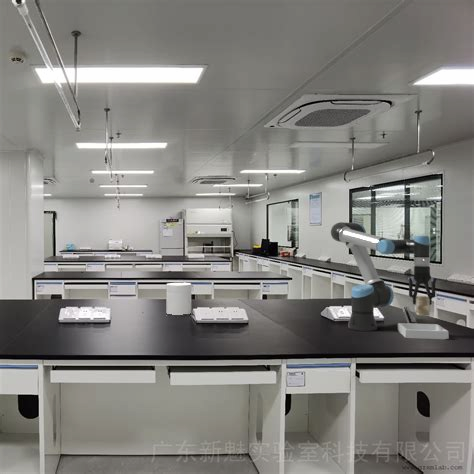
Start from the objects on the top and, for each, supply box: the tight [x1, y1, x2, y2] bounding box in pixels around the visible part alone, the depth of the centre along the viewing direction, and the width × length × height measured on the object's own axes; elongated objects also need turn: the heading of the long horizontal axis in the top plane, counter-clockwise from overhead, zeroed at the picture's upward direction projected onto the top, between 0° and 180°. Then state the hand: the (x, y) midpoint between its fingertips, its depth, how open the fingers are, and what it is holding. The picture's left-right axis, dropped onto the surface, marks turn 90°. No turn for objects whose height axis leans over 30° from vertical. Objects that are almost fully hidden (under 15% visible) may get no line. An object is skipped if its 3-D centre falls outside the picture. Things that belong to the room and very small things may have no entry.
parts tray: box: [397, 322, 450, 340], centre depth 220 cm, size 20×18×4 cm
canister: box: [165, 282, 192, 315], centre depth 278 cm, size 16×16×20 cm
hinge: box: [402, 305, 418, 324], centre depth 258 cm, size 17×5×10 cm, turn 161°
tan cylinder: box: [415, 295, 430, 316], centre depth 220 cm, size 5×5×9 cm
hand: (422, 310), depth 220 cm, fingers closed on tan cylinder, 5 cm apart
